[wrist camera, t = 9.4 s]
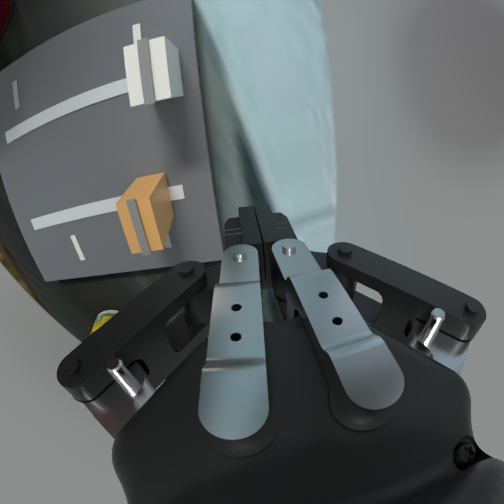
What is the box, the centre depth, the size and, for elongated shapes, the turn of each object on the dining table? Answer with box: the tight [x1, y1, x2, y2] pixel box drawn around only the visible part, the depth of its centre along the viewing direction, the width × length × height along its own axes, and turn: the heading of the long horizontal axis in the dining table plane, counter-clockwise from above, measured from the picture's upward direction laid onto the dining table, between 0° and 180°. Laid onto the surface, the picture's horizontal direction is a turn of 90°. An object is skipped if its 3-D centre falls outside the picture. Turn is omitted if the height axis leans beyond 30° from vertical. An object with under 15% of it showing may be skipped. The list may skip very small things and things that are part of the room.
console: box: [0, 0, 224, 281], centre depth 16 cm, size 20×18×2 cm
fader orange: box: [115, 172, 174, 256], centre depth 16 cm, size 3×2×5 cm, turn 5°
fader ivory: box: [123, 36, 184, 107], centre depth 11 cm, size 3×2×5 cm, turn 4°
